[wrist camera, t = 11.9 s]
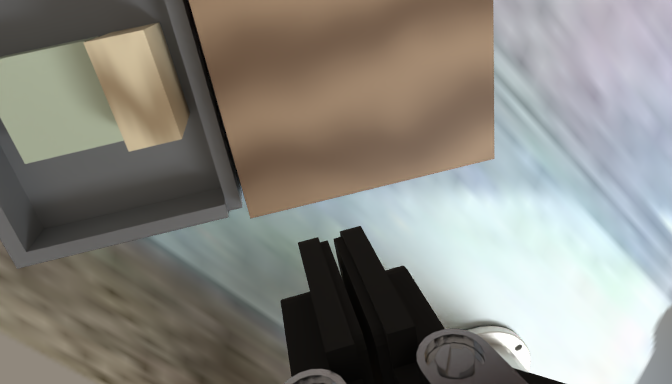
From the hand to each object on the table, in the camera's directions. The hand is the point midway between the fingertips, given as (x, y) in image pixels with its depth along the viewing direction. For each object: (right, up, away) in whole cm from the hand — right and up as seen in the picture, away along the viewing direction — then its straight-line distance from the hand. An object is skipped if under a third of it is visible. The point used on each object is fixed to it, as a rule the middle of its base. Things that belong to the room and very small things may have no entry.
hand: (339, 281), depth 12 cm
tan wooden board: (0, +13, +20) cm, 24 cm away
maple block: (-10, +9, +15) cm, 21 cm away
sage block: (-17, +7, +15) cm, 23 cm away
